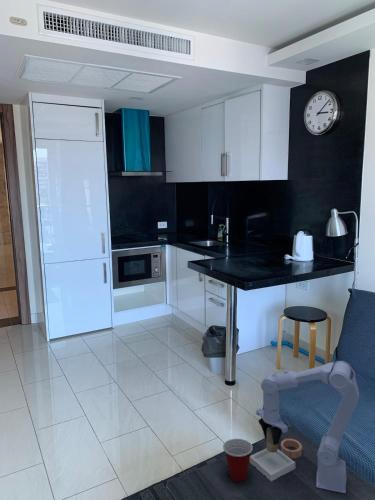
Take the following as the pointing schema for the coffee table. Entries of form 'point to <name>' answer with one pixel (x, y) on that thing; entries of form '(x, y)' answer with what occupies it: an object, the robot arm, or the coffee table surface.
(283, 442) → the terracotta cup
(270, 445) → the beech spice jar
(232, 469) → the plastic cup
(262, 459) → the grey tray
